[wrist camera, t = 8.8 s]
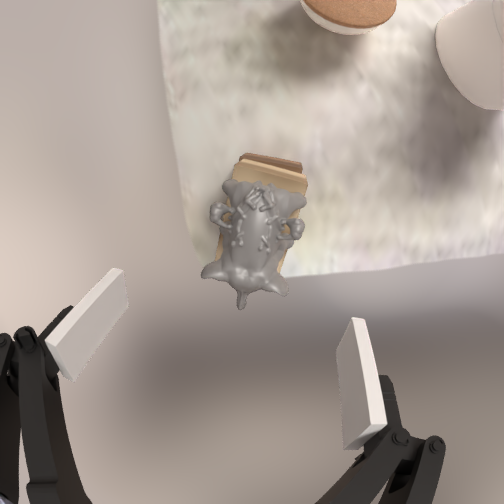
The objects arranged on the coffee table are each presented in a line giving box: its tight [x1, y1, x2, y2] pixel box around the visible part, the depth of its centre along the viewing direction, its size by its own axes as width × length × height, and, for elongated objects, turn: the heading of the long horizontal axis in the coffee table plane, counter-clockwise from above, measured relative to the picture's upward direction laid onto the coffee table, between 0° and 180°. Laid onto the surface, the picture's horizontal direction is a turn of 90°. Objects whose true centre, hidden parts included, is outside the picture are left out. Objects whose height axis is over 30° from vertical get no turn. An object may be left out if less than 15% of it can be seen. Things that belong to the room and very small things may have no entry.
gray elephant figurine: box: [201, 179, 306, 310], centre depth 24 cm, size 9×12×8 cm
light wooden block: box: [215, 159, 308, 273], centre depth 29 cm, size 12×7×5 cm, turn 167°
